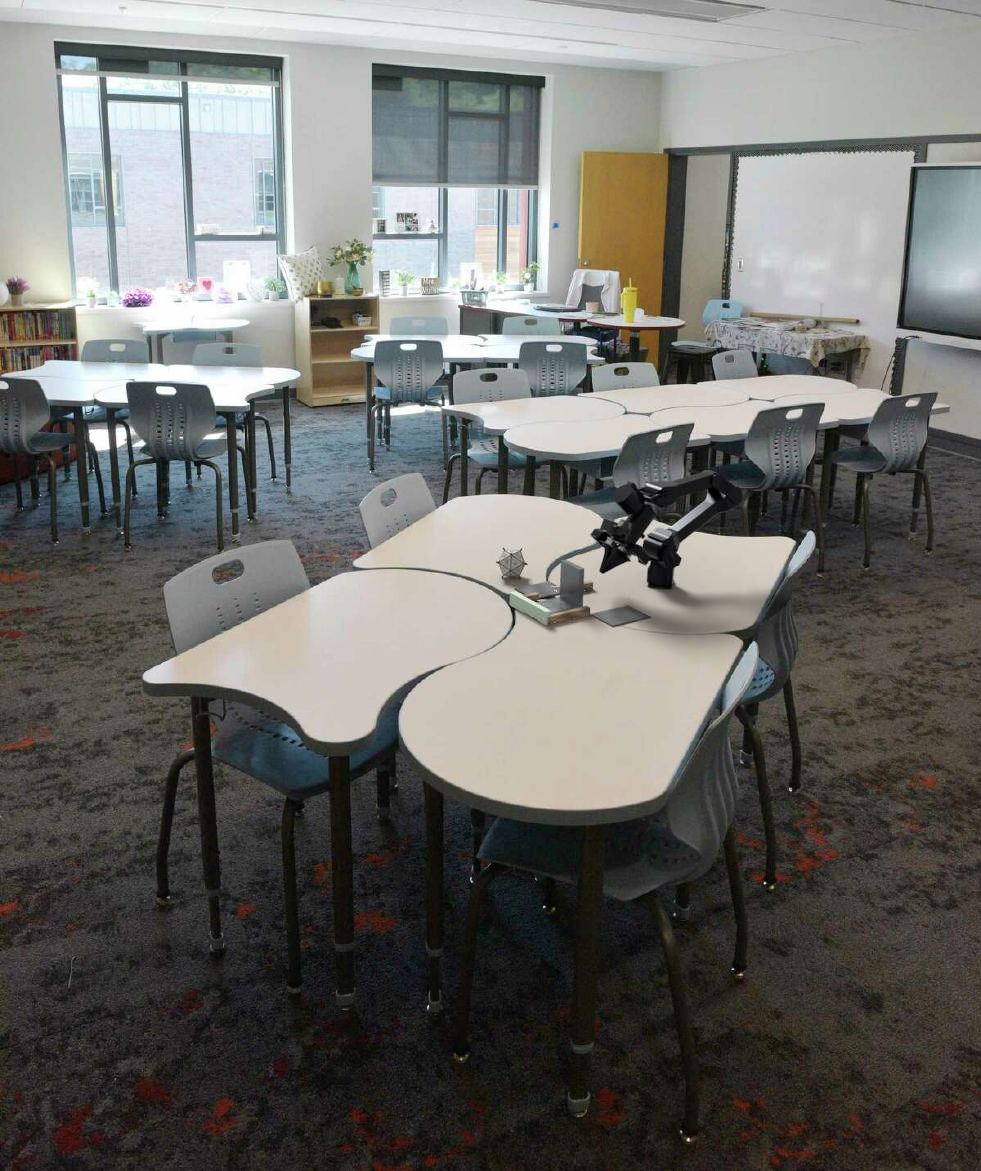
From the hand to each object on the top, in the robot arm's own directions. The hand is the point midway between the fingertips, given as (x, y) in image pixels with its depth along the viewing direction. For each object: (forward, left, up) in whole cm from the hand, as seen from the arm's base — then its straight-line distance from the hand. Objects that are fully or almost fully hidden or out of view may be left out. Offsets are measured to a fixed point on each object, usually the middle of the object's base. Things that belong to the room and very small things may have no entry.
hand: (601, 572), depth 278 cm
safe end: (+15, +16, -7) cm, 23 cm away
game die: (+26, -9, -7) cm, 29 cm away
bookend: (+10, +11, -7) cm, 16 cm away
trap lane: (+7, +7, -7) cm, 12 cm away
